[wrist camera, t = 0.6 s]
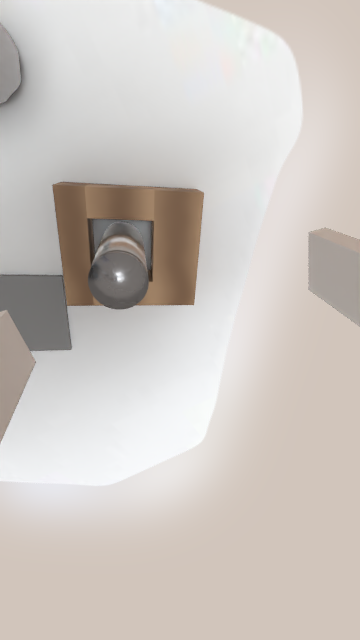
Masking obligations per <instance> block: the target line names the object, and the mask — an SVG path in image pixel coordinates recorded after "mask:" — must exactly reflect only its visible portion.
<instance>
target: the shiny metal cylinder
mask: <svg viewBox="0 0 360 640" xmlns="http://www.w3.org/2000/svg"><path fill="white" fill-rule="evenodd" d="M88 285H89V289H90V291H91V293H92V295H93V296H94V298H95V299H96V300H97V301H98V302H100V303H101V304H102V305H104V306H106V307H109V308H112V309H127V308H130V307H133V306H135V305H136V304H138V303H139V302H140V301H141V300H142V299H143V298H144V297H145V295H146V293H147V290H148V286H149V278H148V271H147V264H146V257H145V250H144V243H143V238H142V235H141V233H140V231H139V230H138V229H137V228H136V227H135V226H134V225H132V224H130V223H128V222H116V223H113V224H111V225H110V226H109V227H107V229H106V230H105V232H104V234H103V236H102V239H101V242H100V244H99V247H98V250H97V252H96V255H95V258H94V260H93V263H92V266H91V268H90V271H89V275H88Z"/></svg>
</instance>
